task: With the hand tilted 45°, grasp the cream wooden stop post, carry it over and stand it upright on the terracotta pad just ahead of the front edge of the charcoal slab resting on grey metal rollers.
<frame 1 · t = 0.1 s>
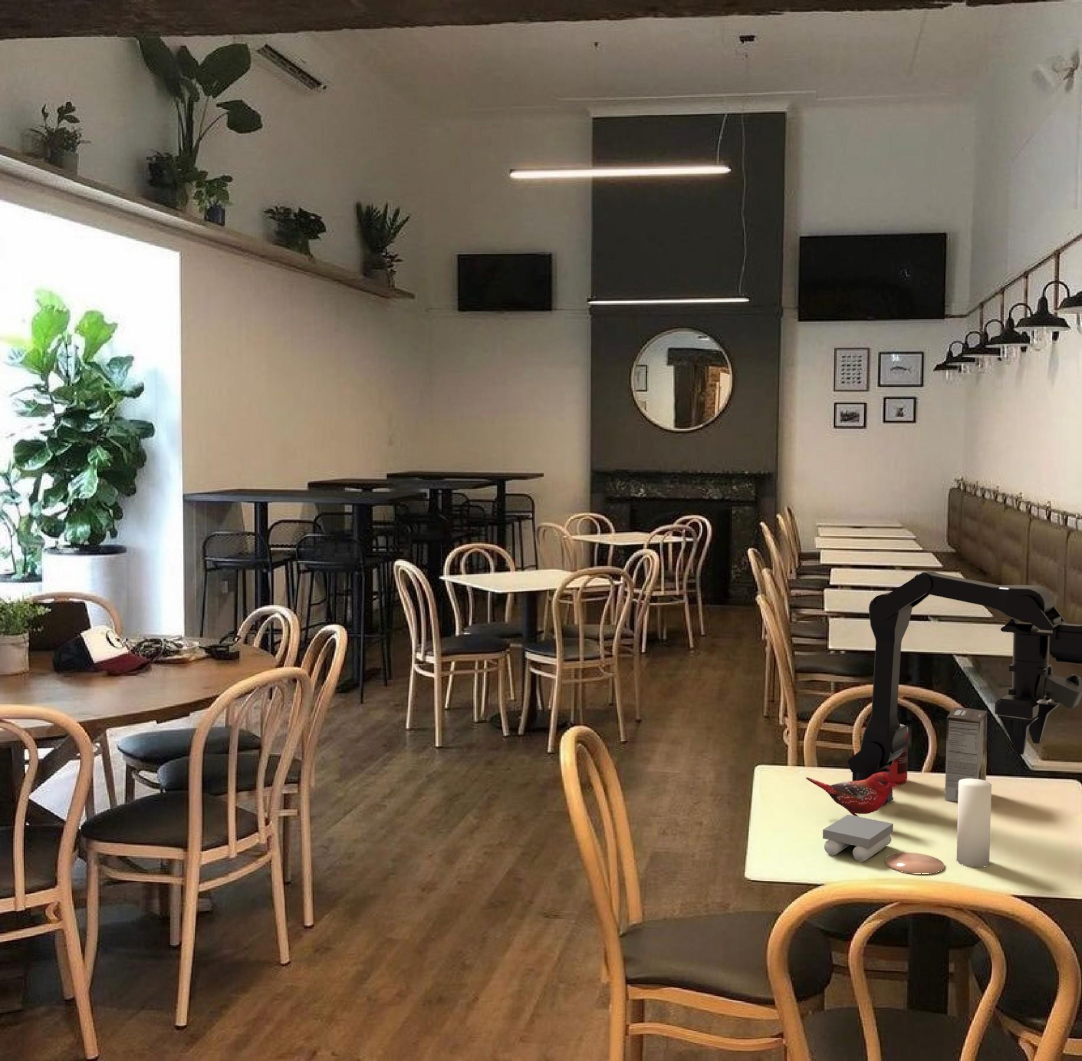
hand: (1028, 748, 211), 15 cm above the table, tool pointing down, fingers open, 9 cm apart
coffee box: (965, 797, 233), on the table
slab on rollers: (857, 849, 203), on the table
decorative bird figurine: (849, 821, 219), on the table
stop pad: (914, 864, 196), on the table
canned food: (886, 781, 243), on the table
stop post: (972, 861, 197), on the table
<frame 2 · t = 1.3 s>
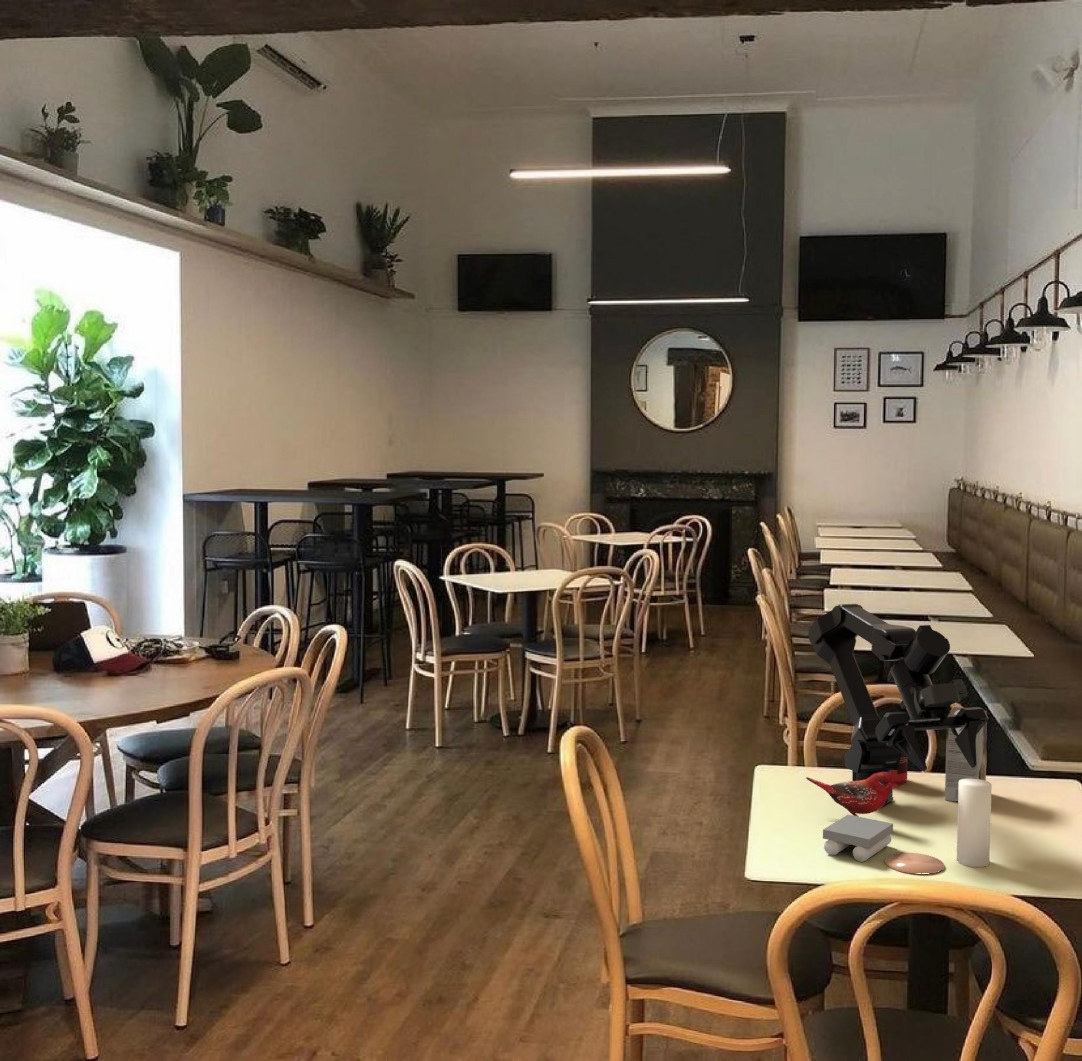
hand: (949, 768, 203), 13 cm above the table, tool tilted 45°, fingers open, 9 cm apart
nothing on the table moved.
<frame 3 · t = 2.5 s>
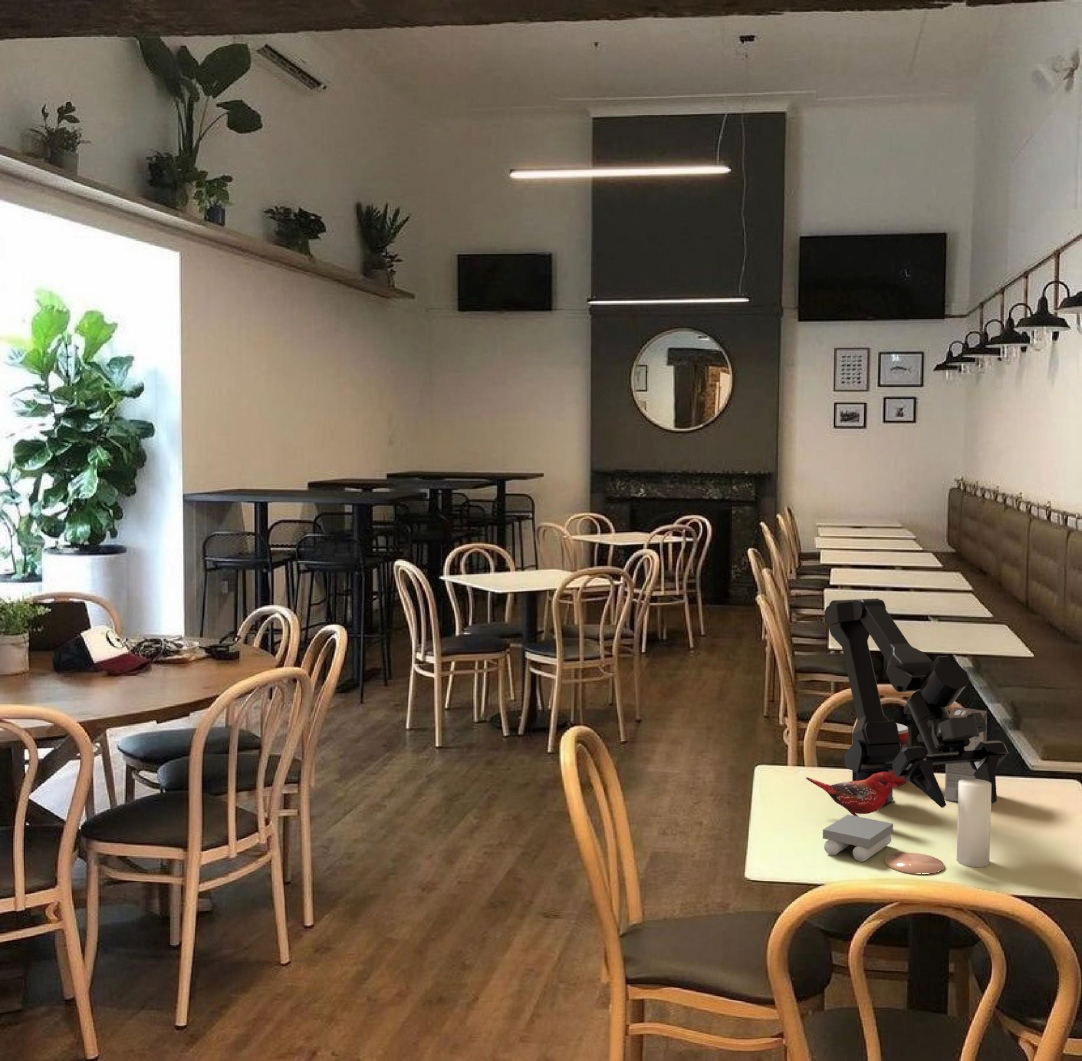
hand: (969, 804, 198), 9 cm above the table, tool tilted 45°, fingers open, 9 cm apart
nothing on the table moved.
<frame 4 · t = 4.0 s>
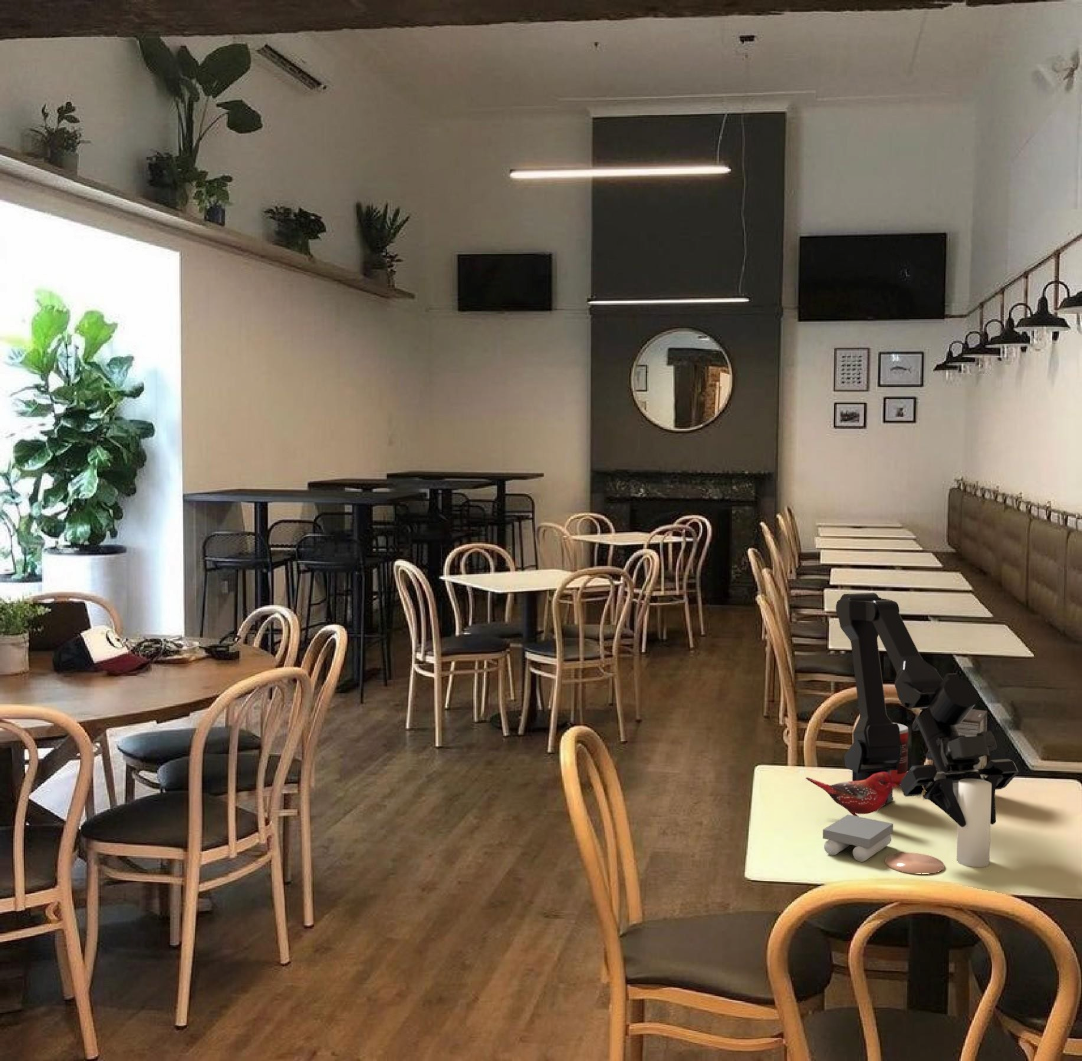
hand: (978, 824, 195), 7 cm above the table, tool tilted 45°, fingers closed on stop post, 5 cm apart
stop post: (972, 861, 197), on the table, touching gripper
everything else where it was.
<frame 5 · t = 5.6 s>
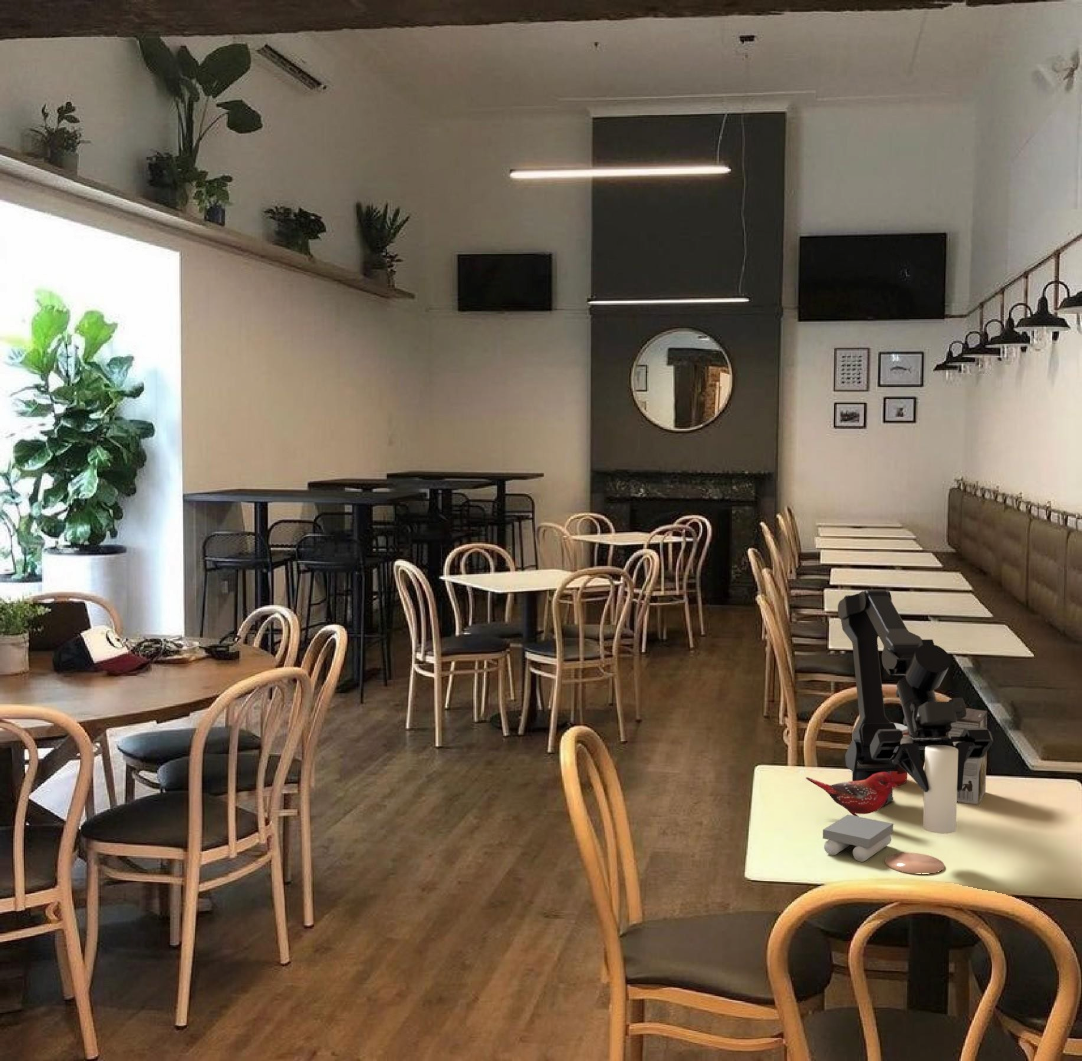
hand: (943, 790, 194), 12 cm above the table, tool tilted 45°, fingers closed on stop post, 5 cm apart
stop post: (939, 828, 196), point 6 cm above the table, touching gripper
everything else where it was.
when the fingers open (8 cm above the table, at t = 7.2 s): stop post drops 1 cm, resting on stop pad.
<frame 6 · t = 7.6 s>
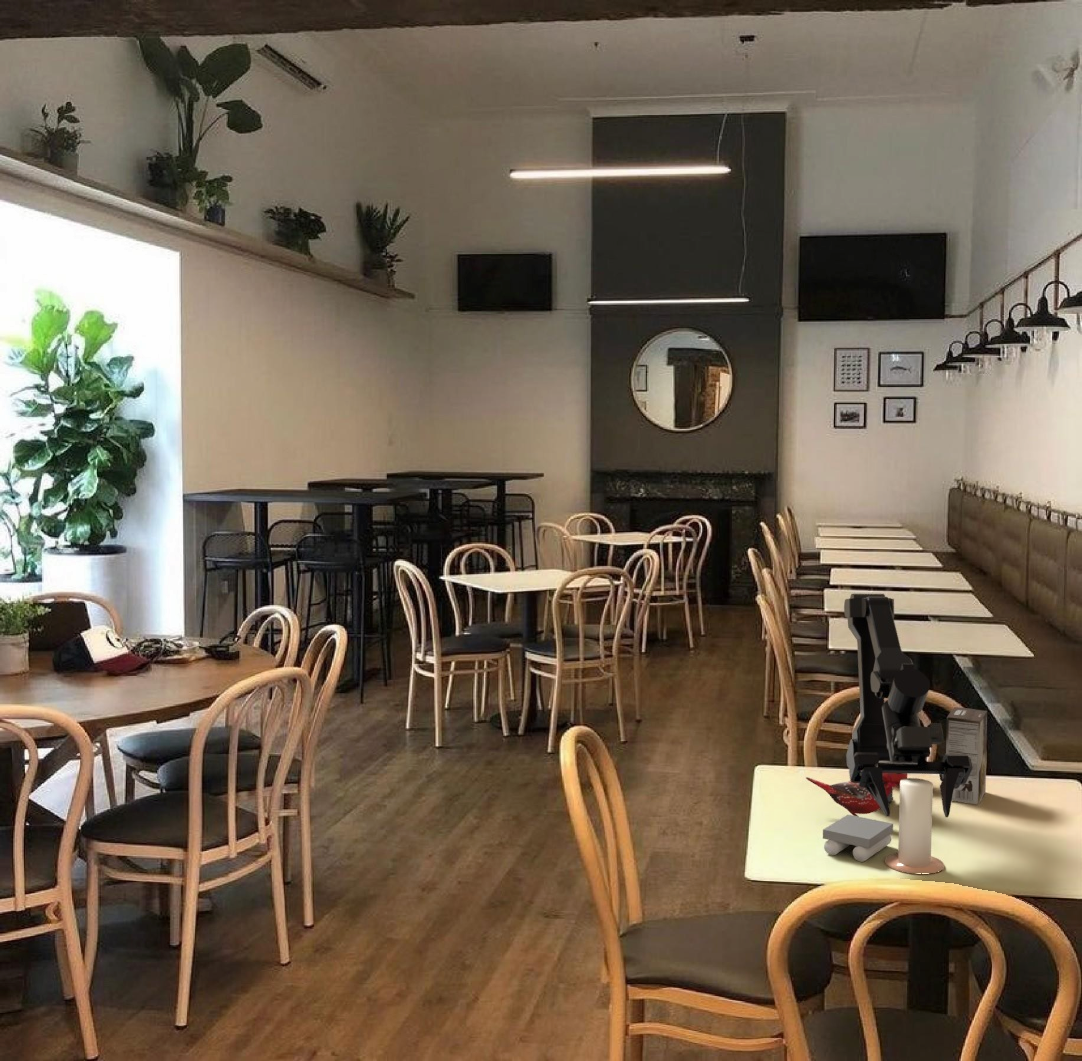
hand: (917, 815, 194), 8 cm above the table, tool tilted 45°, fingers open, 9 cm apart
stop post: (914, 861, 196), resting on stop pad
everything else where it was.
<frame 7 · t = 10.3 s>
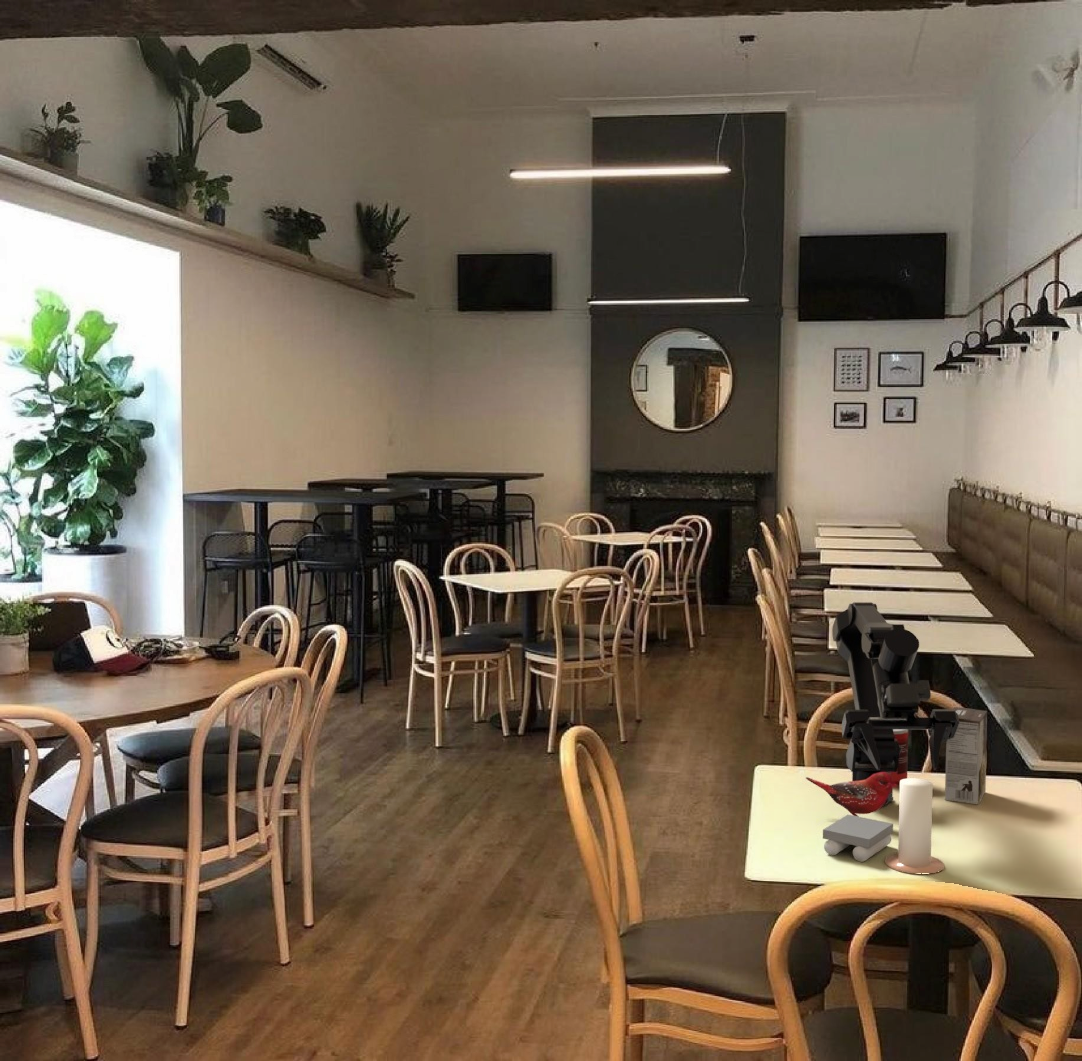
hand: (907, 768, 203), 14 cm above the table, tool tilted 45°, fingers open, 9 cm apart
nothing on the table moved.
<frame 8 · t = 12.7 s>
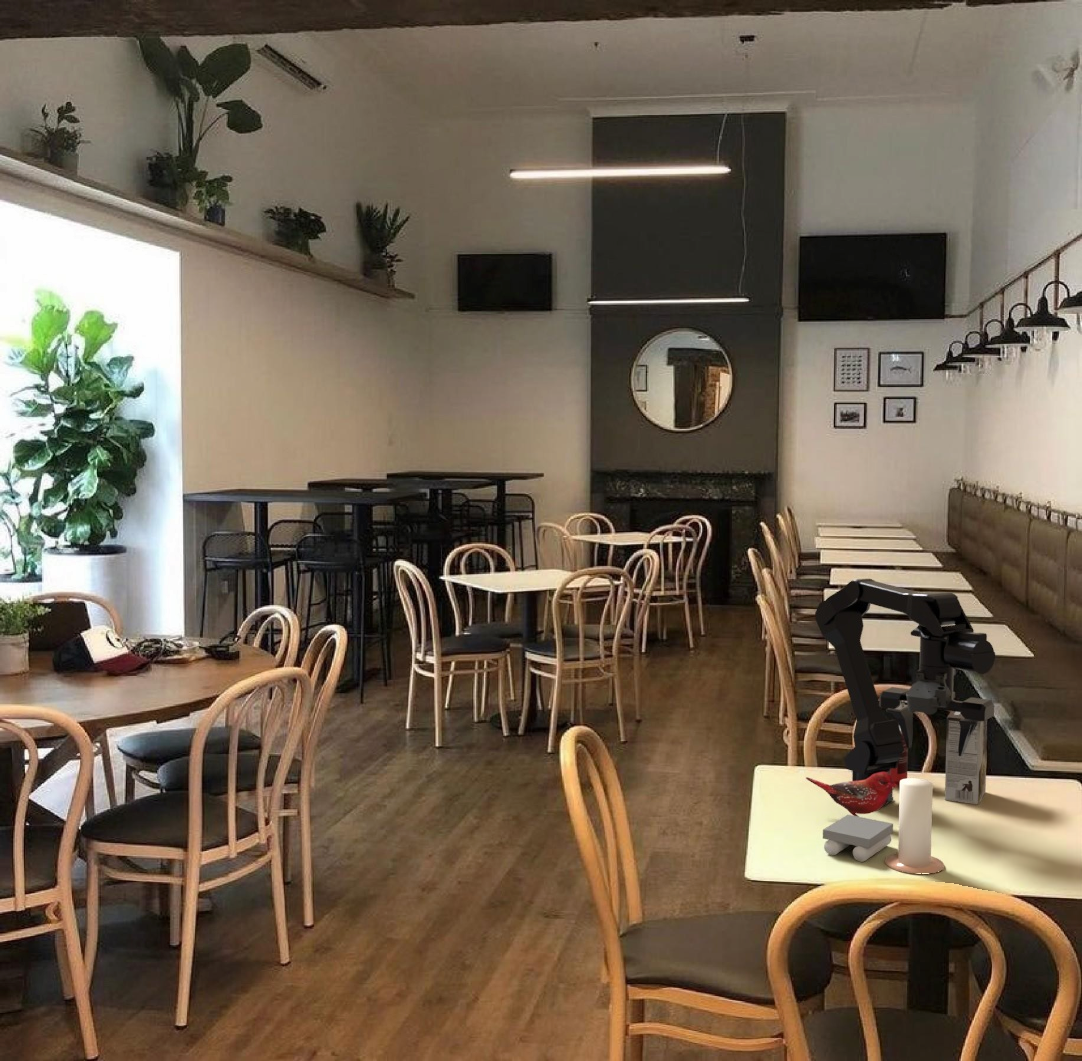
hand: (934, 751, 215), 13 cm above the table, tool pointing down, fingers open, 9 cm apart
nothing on the table moved.
at the end: stop post 0.0 cm off-centre on the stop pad, point 0.4 cm above the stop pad's base; stop post tilted 0°; the gripper is holding nothing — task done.
